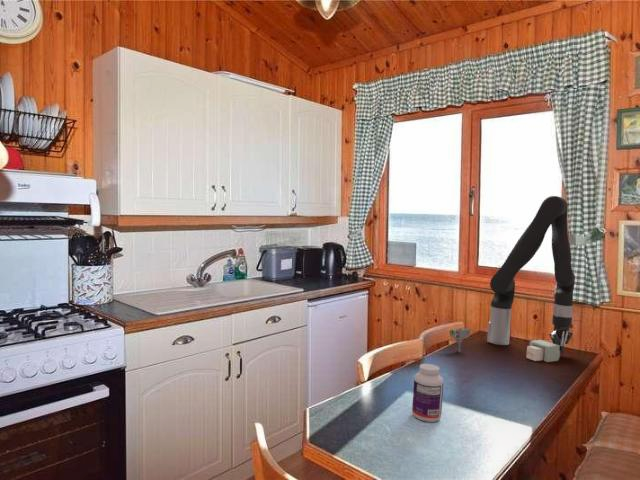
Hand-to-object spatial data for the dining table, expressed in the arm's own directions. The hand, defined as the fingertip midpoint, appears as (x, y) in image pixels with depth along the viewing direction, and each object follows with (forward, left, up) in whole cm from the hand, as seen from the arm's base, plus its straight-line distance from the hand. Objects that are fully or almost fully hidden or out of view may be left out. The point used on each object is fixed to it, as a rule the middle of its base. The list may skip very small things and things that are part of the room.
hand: (559, 353), depth 194 cm
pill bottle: (-23, -100, -1) cm, 103 cm away
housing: (-5, -9, -1) cm, 10 cm away
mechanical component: (-36, -27, -1) cm, 45 cm away
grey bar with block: (-5, -9, -1) cm, 10 cm away
